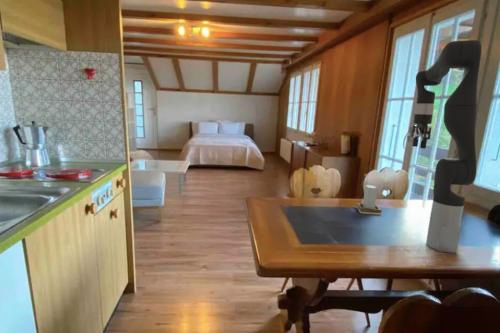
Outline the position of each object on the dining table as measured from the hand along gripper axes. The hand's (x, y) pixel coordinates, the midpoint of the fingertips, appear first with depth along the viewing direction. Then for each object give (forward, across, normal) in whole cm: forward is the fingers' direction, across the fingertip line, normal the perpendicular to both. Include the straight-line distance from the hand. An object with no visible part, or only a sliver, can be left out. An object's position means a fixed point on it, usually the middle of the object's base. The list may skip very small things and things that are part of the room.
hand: (418, 147), depth 136 cm
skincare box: (+32, -4, +21) cm, 39 cm away
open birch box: (+33, -4, +21) cm, 39 cm away
